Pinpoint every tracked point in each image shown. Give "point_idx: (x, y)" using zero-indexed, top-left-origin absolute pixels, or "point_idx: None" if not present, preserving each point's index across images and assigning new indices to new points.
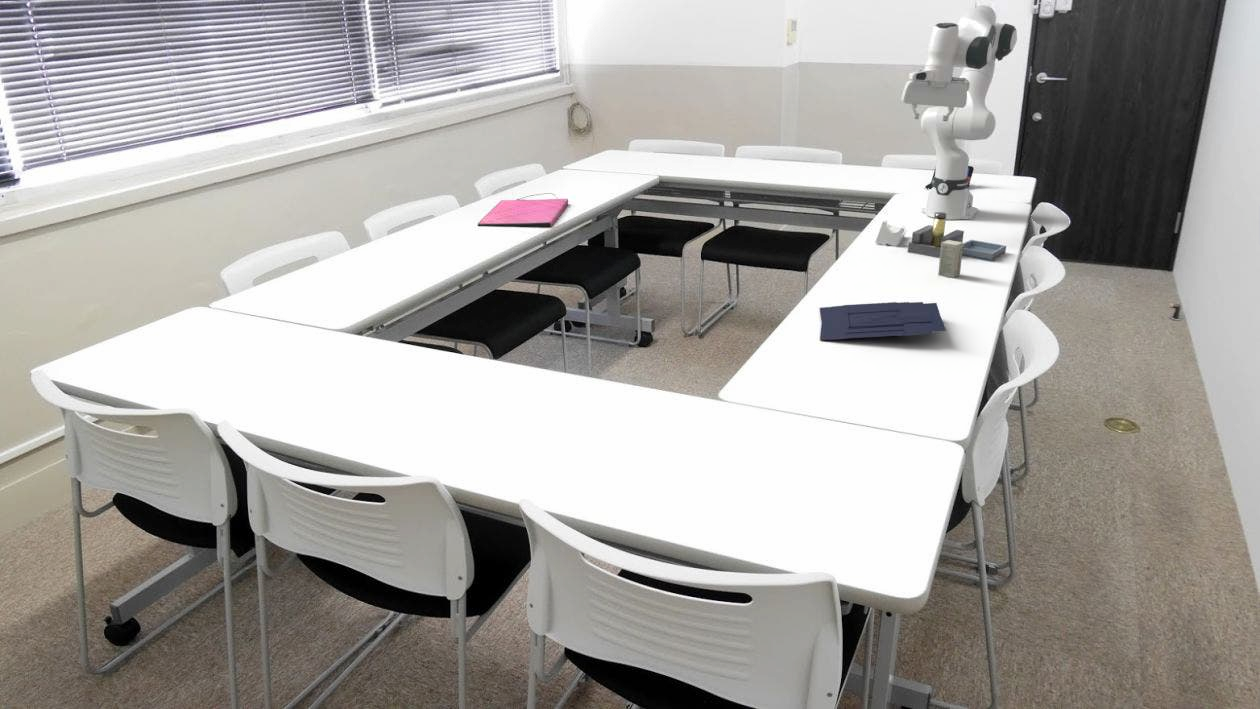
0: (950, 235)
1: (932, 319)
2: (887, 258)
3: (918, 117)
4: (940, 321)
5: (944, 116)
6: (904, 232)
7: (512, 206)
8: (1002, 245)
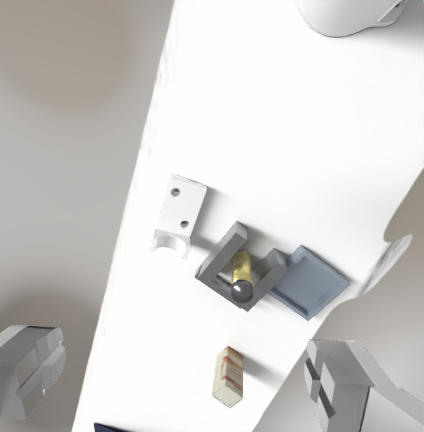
0: (256, 295)
1: None
2: (165, 295)
3: (53, 379)
4: None
5: (324, 427)
6: (201, 203)
7: None
8: (344, 282)
